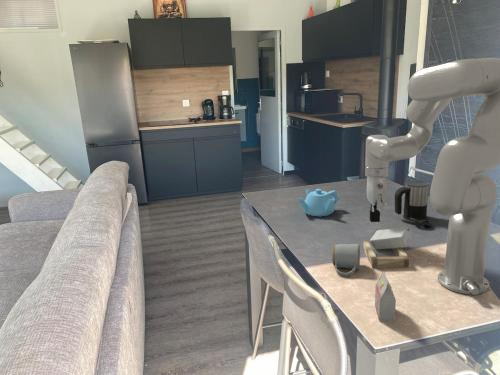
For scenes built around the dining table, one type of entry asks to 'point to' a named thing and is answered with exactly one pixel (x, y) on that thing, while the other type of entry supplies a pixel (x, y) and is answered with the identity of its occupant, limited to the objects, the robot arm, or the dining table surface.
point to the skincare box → (391, 238)
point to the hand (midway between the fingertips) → (374, 221)
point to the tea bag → (384, 300)
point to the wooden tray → (386, 257)
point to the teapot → (319, 202)
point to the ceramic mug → (346, 257)
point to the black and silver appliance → (413, 201)
